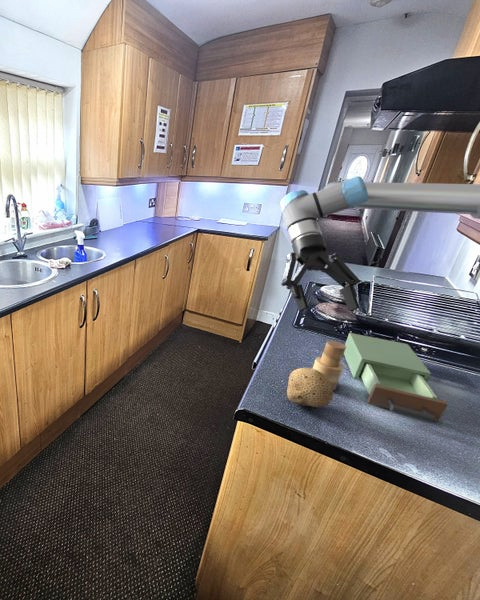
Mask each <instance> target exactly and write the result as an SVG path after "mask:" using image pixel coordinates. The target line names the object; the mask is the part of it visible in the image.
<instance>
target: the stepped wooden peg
mask: <svg viewBox="0 0 480 600" xmlns="http://www.w3.org/2000/svg"><path fill="white" fill-rule="evenodd" d="M345 349H346V346H345V344H344V343H342V342H340V341H336V340H327V341H326V343H325V346H324V348H323V351H322V355H321V356H317V357H315V360H314V363H313V366H312V369H315V370H318V371H319V372H321V373H322V374H323V375H324V376H325V377H326V378H327V379H328V381H329V383H330V386H331V389H332V392H333V391H335V390H336V389H337V386H338V384H339V382H340V379H341V377H342V373H343V371H344V369H345V367H344V366H345V365H344V364H343V363H342V359H343V356H344V352H345Z"/></svg>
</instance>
